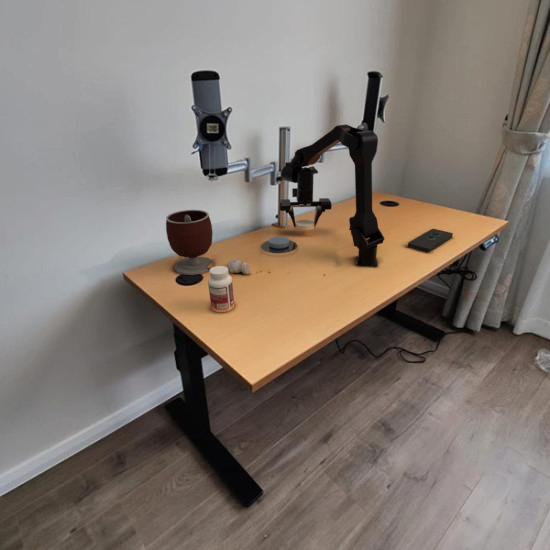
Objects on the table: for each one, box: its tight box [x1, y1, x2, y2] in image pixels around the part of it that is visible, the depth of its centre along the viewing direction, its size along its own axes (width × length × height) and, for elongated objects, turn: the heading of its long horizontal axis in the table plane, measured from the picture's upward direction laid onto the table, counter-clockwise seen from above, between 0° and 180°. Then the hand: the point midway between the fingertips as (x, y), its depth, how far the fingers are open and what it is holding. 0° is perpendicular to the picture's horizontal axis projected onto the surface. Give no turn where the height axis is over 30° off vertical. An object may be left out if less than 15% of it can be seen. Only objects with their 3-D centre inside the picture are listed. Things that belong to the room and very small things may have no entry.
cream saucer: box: [294, 219, 315, 232], centre depth 138 cm, size 7×7×2 cm
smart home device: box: [407, 228, 454, 254], centre depth 133 cm, size 8×2×20 cm
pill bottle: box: [207, 265, 235, 313], centre depth 95 cm, size 6×6×11 cm
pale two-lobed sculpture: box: [226, 258, 251, 275], centre depth 114 cm, size 4×8×5 cm
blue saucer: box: [268, 235, 290, 249], centre depth 130 cm, size 7×7×2 cm
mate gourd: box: [165, 209, 213, 276], centre depth 115 cm, size 16×14×20 cm
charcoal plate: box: [260, 239, 298, 254], centre depth 131 cm, size 13×13×1 cm
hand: (304, 226), depth 138 cm, fingers closed on cream saucer, 7 cm apart
